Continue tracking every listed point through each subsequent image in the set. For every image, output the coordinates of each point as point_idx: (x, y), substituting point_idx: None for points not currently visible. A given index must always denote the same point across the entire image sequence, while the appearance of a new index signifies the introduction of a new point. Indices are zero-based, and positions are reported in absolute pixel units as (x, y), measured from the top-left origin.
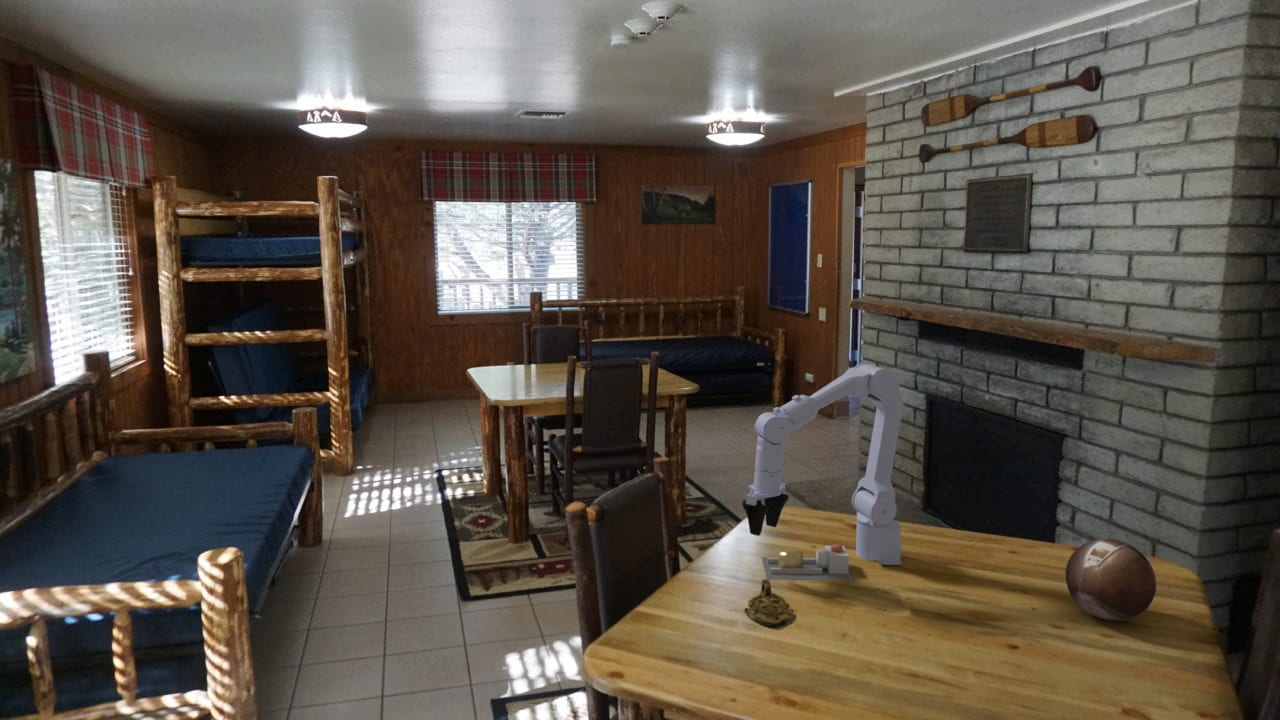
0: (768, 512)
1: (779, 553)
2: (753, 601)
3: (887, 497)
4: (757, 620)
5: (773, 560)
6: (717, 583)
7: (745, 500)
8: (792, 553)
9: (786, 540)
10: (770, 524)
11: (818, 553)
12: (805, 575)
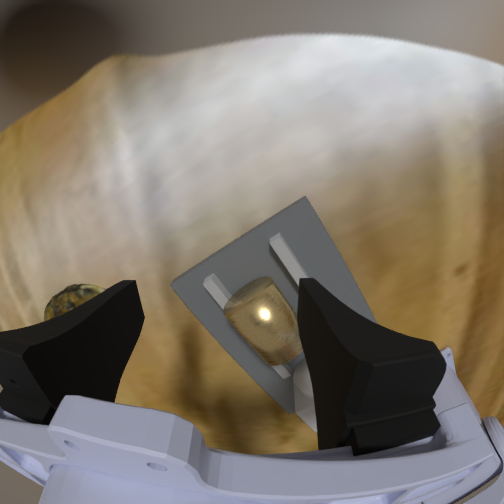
0: (316, 322)
1: (235, 316)
2: (62, 311)
3: None
4: None
5: (280, 256)
6: (97, 176)
7: (3, 360)
8: (260, 345)
9: (475, 192)
10: (299, 301)
11: (309, 386)
12: (252, 348)
